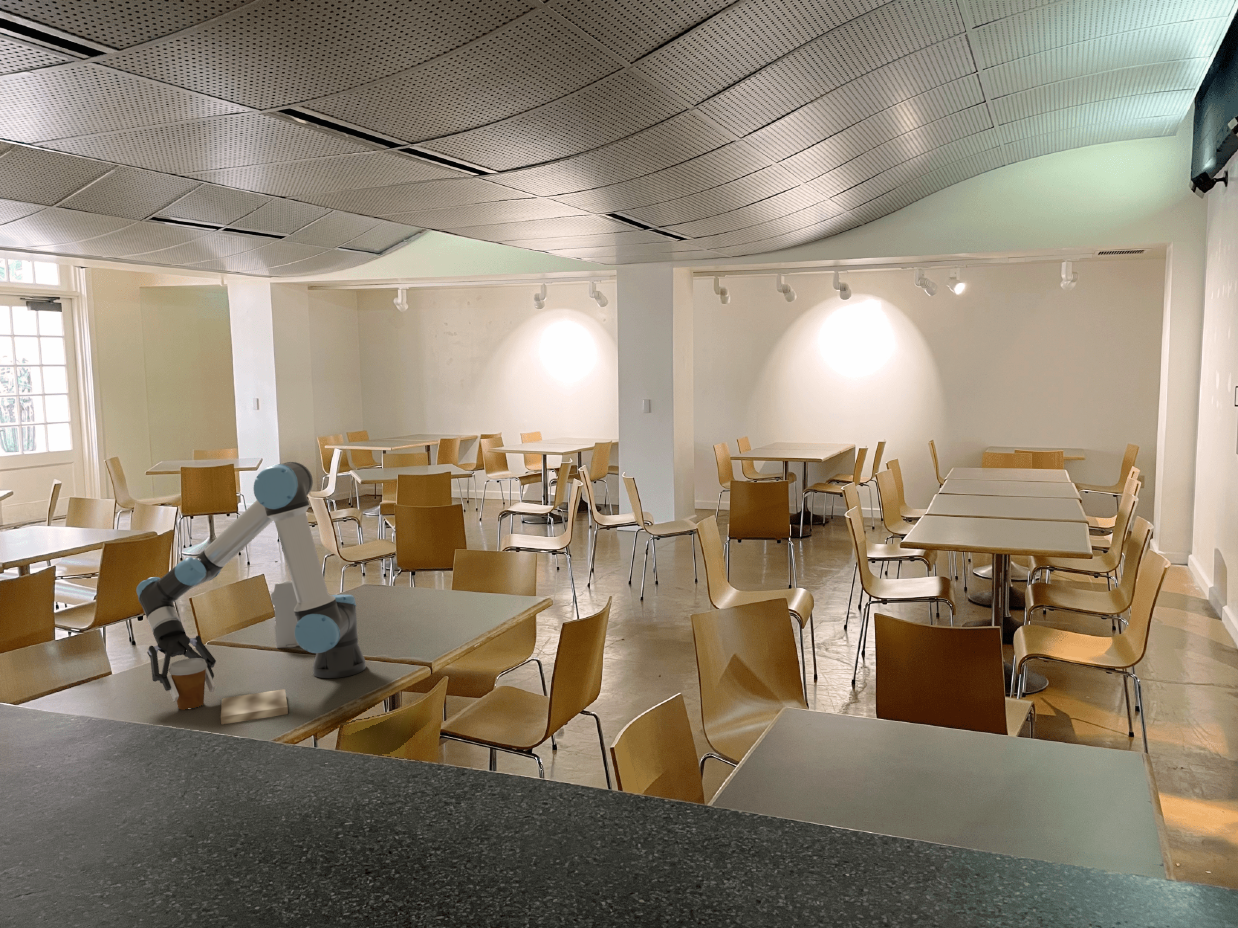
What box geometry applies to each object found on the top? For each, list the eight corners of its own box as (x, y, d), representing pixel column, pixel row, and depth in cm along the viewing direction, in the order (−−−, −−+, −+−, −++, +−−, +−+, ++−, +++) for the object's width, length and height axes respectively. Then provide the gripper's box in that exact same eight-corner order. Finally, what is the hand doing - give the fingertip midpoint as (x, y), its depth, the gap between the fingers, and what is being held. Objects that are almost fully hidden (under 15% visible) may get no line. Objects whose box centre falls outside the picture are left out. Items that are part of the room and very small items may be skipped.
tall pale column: (274, 649, 302) (269, 583, 301) (274, 646, 306) (270, 581, 305) (308, 645, 306) (303, 580, 304) (308, 642, 310) (304, 578, 308)
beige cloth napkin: (285, 695, 254) (285, 688, 254) (287, 713, 239) (287, 706, 239) (222, 705, 248) (222, 698, 248) (221, 724, 233) (220, 716, 233)
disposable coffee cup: (182, 714, 242) (179, 669, 241) (164, 707, 248) (161, 664, 247) (217, 703, 249) (213, 660, 248) (198, 697, 255) (195, 655, 254)
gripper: (202, 626, 265) (231, 690, 256) (122, 643, 250) (149, 712, 240) (209, 611, 261) (238, 675, 252) (127, 627, 246) (155, 697, 236)
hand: (194, 693), depth 246 cm, fingers closed on disposable coffee cup, 9 cm apart
